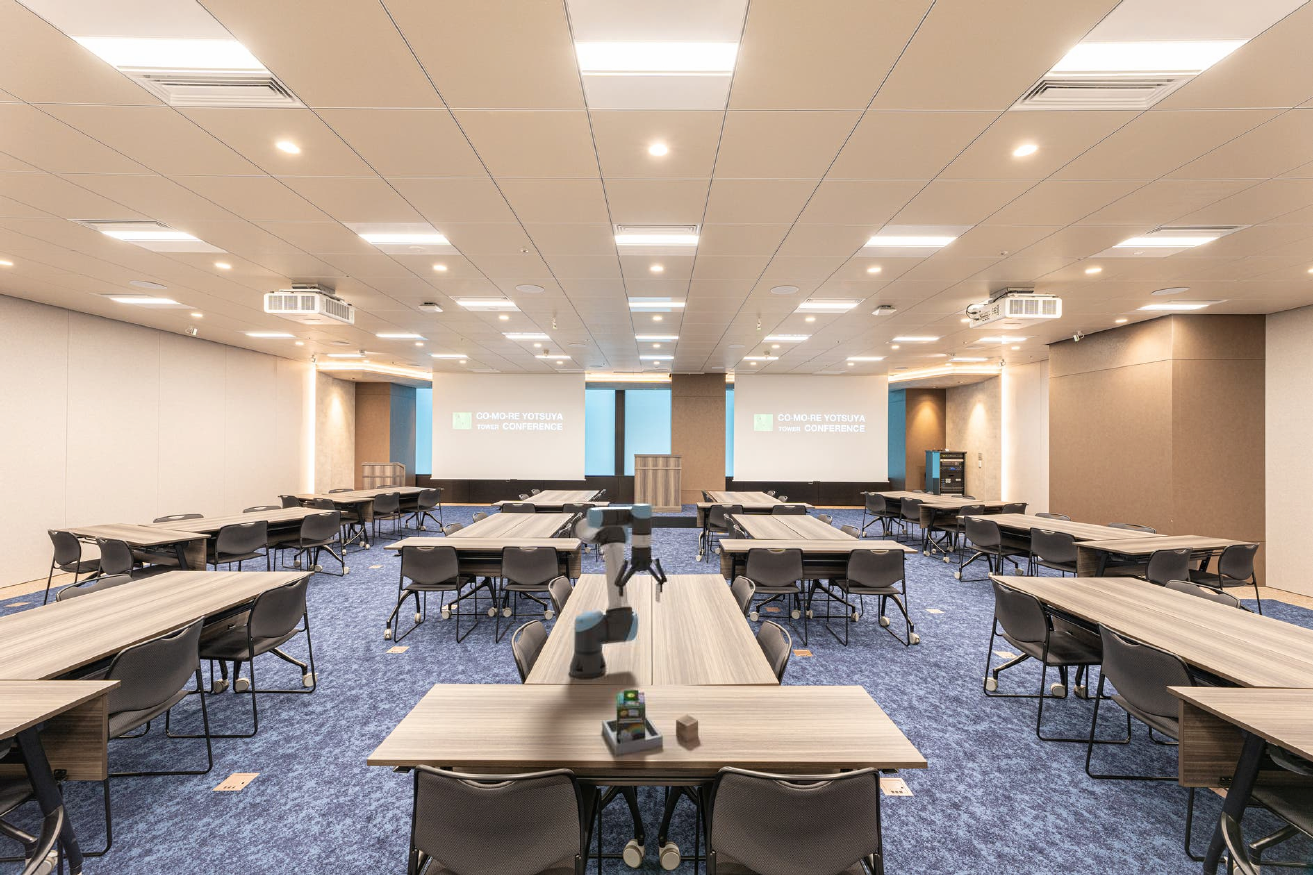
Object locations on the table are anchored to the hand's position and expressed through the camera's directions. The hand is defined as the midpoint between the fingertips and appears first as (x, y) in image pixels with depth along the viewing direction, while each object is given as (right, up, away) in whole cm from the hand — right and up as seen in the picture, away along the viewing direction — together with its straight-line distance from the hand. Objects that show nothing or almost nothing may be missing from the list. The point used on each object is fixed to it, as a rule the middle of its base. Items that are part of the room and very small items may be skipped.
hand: (640, 603), depth 183 cm
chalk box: (-2, -33, -27) cm, 43 cm away
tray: (-2, -34, -27) cm, 43 cm away
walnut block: (+16, -34, -25) cm, 45 cm away
